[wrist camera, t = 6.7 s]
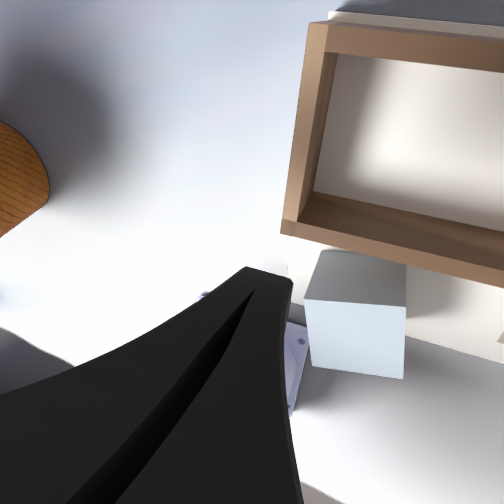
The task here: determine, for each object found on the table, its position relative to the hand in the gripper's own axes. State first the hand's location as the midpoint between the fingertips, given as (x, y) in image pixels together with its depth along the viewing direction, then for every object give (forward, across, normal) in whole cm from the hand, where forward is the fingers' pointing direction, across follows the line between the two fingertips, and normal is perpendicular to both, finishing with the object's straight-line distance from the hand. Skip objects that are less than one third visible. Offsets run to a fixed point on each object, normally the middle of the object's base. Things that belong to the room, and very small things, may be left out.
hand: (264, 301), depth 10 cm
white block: (+9, -3, +5) cm, 10 cm away
